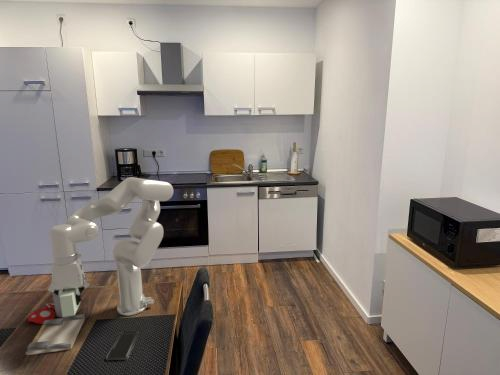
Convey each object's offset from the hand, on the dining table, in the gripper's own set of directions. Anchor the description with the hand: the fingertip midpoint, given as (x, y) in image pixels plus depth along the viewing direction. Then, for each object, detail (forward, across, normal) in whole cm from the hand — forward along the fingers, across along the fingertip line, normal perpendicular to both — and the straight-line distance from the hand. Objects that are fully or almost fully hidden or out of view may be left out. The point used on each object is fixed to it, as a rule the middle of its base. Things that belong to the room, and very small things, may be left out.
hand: (71, 303), depth 125 cm
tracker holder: (+16, +16, -20) cm, 30 cm away
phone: (+16, -18, +9) cm, 25 cm away
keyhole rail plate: (+15, +8, -4) cm, 18 cm away
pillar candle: (+15, +8, -22) cm, 28 cm away
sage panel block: (+2, 0, 0) cm, 2 cm away
